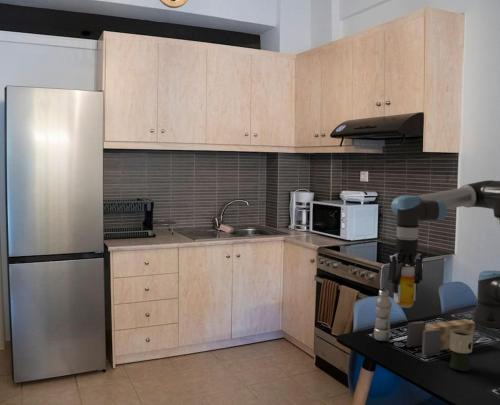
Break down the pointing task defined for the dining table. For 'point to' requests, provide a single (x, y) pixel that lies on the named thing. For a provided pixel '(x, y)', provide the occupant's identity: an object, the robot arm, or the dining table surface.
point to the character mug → (460, 348)
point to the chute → (423, 338)
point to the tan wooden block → (446, 329)
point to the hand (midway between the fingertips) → (404, 300)
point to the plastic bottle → (382, 316)
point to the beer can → (407, 286)
